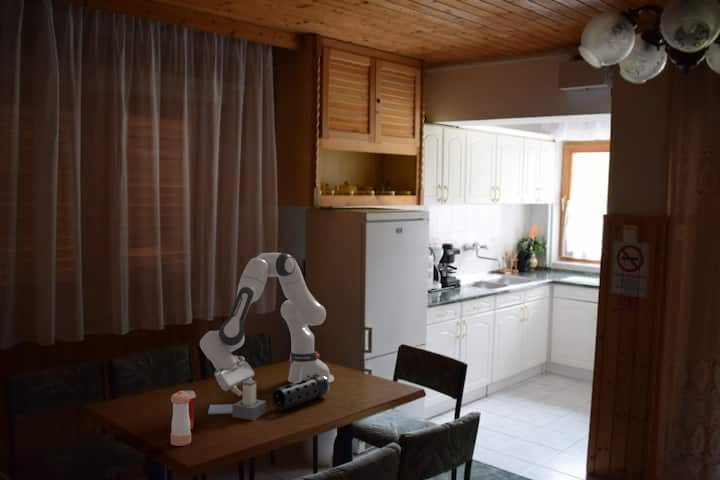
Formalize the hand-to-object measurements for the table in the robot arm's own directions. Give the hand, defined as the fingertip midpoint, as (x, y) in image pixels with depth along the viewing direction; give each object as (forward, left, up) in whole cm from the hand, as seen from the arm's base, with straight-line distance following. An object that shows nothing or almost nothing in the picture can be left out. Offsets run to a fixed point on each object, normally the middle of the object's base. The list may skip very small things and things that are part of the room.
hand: (247, 391), depth 274 cm
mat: (+11, -7, -10) cm, 16 cm away
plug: (-1, 0, -10) cm, 10 cm away
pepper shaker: (+23, +27, -10) cm, 37 cm away
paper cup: (+23, +13, -10) cm, 29 cm away
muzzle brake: (-23, -12, -10) cm, 28 cm away
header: (-1, 0, -10) cm, 10 cm away
